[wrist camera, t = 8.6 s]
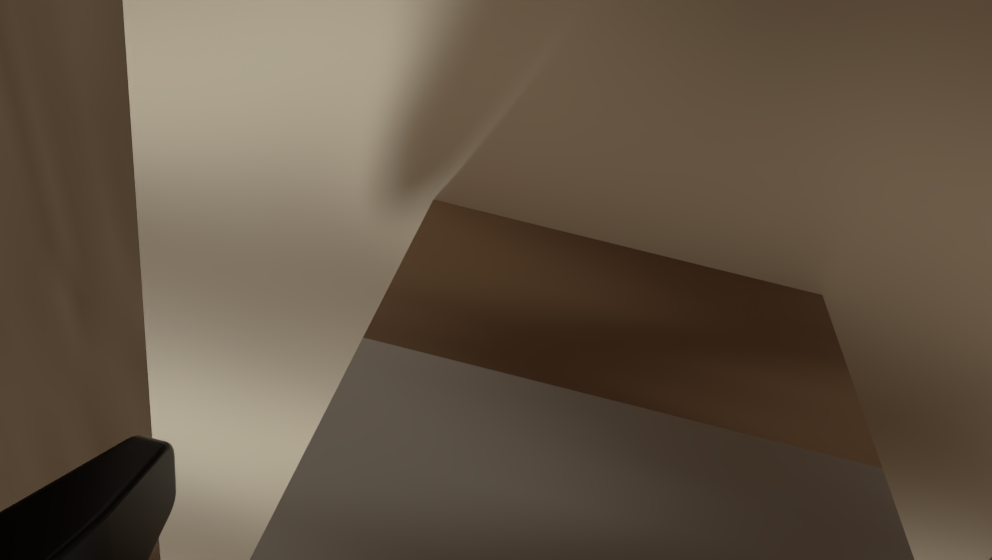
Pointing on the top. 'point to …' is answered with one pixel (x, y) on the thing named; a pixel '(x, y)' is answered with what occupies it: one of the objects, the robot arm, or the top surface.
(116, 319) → the top surface
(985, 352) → the stand
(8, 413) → the top surface
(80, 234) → the top surface
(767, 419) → the block
